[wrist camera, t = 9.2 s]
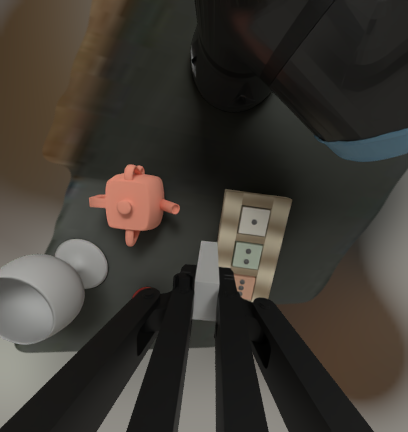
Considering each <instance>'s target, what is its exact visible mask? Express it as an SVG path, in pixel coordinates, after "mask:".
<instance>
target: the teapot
mask: <svg viewBox="0 0 408 432" xmlns="http://www.w3.org/2000/svg"><path fill="white" fill-rule="evenodd" d="M133 172H134V173H133ZM89 203H90V207H100V208H106V215H107V221H108V224H109V226H110V227H112V228H117V229H125V230H126V235H125V239H126V244H127V246H130V247H132V246H133V245H134V244H135V243H136V241H137V238H138V236H139V233H140V231H146V230H151V229H154V228H156V227H157V226H158V225H159V224H160V223H161V220H162V216H163V211H166V212H169V213H172V214H177V213H178V212H179V210H180V207H179V205H178V204H175V203H173V202H170V201H167V200H165V199H164V188H163V182H162V180H161V179H160V178H159V177H157V176H152V175H146V174H144V168H143V167H142V166H135V165H127V166H126V168H125V171H124V173H123V174H118V175H115V176H114V177H112V178H111V179H110V180H108V182H107V185H106V195H97V196H93V197H90V198H89Z"/></svg>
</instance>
